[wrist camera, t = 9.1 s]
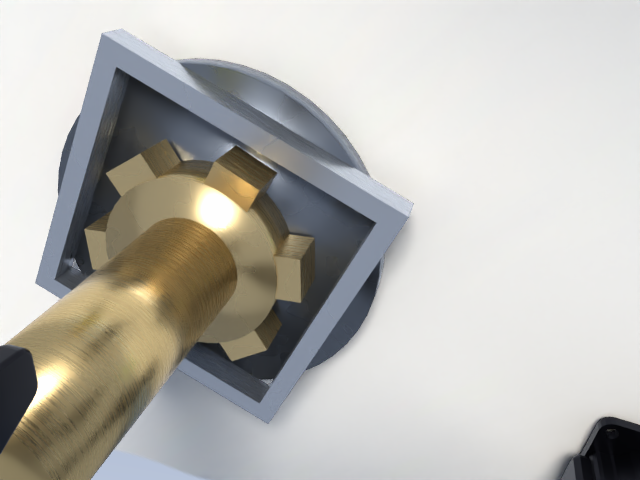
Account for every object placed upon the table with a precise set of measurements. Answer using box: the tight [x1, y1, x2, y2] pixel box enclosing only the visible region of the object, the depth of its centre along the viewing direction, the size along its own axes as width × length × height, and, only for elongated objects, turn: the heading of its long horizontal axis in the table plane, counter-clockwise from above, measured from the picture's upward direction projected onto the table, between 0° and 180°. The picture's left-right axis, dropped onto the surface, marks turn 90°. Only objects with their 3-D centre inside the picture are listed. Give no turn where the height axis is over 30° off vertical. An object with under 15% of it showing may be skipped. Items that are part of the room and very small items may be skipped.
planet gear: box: [0, 139, 315, 480], centre depth 19 cm, size 9×8×12 cm
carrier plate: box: [35, 29, 414, 423], centre depth 23 cm, size 14×14×4 cm
